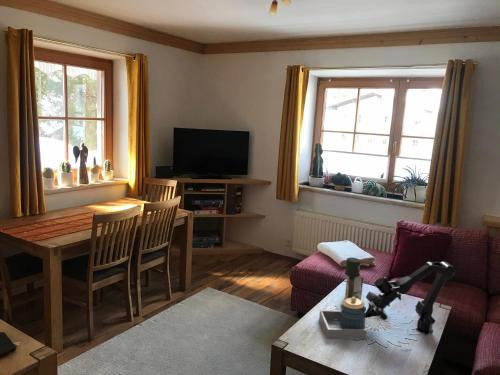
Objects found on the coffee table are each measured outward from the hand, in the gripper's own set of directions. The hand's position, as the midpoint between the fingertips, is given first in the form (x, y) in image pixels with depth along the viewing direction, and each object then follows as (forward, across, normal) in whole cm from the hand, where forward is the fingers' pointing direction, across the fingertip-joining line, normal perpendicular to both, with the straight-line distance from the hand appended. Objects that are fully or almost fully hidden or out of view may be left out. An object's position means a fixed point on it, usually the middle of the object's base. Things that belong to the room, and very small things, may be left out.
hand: (363, 317), depth 212 cm
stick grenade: (+6, -24, +4) cm, 25 cm away
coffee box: (+2, -34, +8) cm, 35 cm away
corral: (+13, 0, -3) cm, 13 cm away
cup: (-6, -22, +16) cm, 28 cm away
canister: (+9, 0, +1) cm, 9 cm away
